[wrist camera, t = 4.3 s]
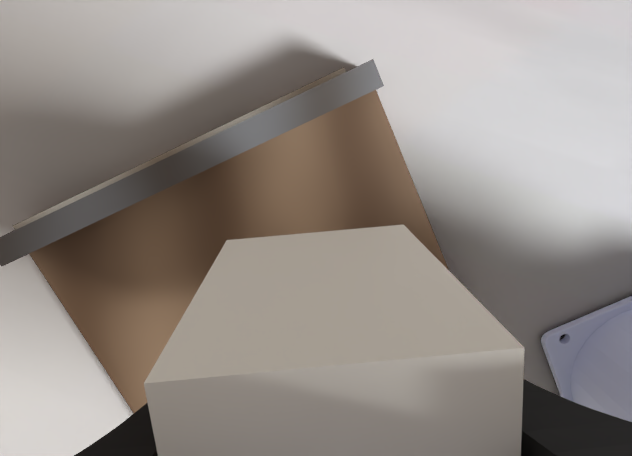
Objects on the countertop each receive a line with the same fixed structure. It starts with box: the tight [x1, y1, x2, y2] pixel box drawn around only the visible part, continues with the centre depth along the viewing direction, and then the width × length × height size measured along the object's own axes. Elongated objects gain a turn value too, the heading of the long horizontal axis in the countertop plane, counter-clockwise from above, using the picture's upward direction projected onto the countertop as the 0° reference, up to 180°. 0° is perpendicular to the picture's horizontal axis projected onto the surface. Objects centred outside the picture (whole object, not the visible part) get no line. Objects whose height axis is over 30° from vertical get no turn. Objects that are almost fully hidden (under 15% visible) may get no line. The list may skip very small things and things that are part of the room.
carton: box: [144, 225, 525, 456], centre depth 10 cm, size 5×7×7 cm
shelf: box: [0, 59, 449, 413], centre depth 19 cm, size 16×12×3 cm
